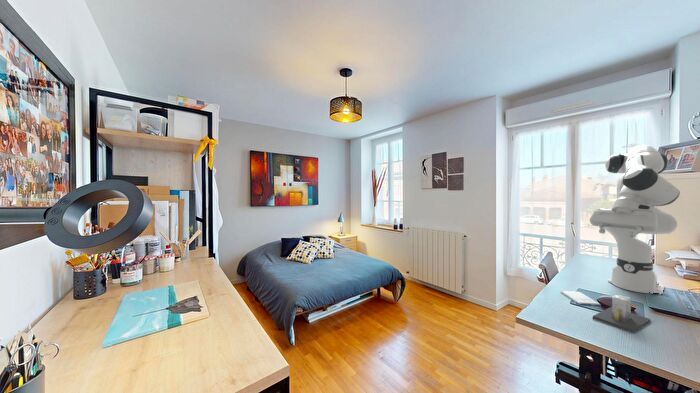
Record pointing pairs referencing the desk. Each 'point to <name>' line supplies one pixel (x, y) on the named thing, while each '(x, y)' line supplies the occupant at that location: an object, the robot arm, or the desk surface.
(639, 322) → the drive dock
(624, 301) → the clear tall piece
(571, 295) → the external hard drive
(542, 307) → the desk surface
